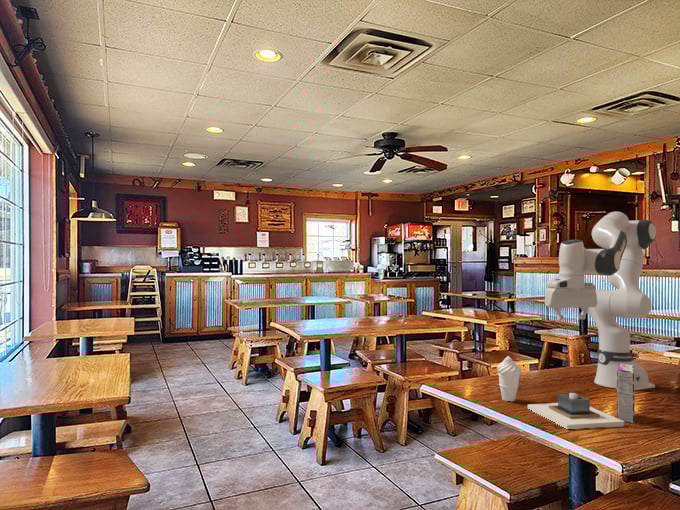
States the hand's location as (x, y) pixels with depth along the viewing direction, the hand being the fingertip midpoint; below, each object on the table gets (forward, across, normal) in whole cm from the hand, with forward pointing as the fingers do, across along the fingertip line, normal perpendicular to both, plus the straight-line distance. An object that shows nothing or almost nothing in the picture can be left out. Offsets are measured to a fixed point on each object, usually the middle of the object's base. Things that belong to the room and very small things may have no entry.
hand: (571, 319), depth 176 cm
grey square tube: (+27, +15, +21) cm, 37 cm away
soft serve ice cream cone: (+29, +26, +1) cm, 39 cm away
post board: (+29, +15, +21) cm, 39 cm away
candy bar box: (+29, -2, +24) cm, 38 cm away
